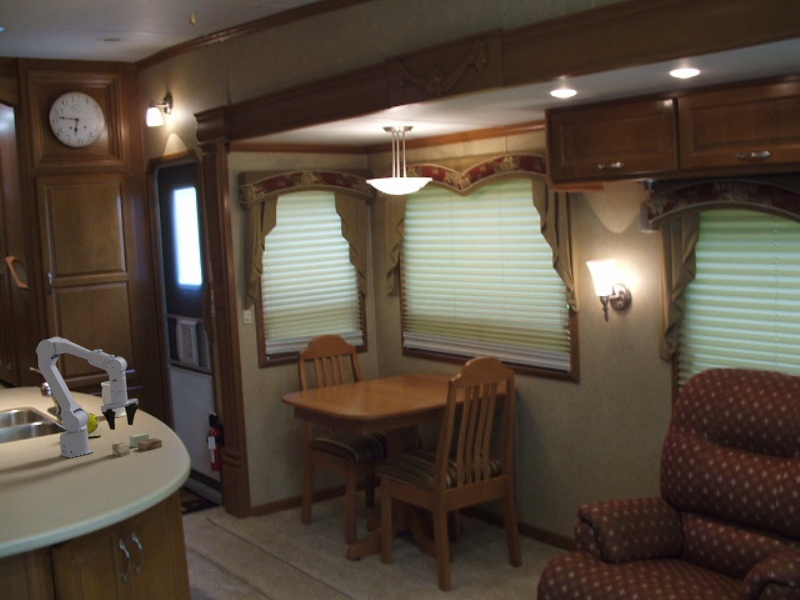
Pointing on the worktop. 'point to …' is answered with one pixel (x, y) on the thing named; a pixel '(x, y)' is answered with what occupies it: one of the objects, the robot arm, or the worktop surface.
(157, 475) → the worktop surface
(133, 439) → the sage brick
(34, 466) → the worktop surface
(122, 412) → the jar
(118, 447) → the maple brick
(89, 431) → the toy
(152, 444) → the walnut slab
